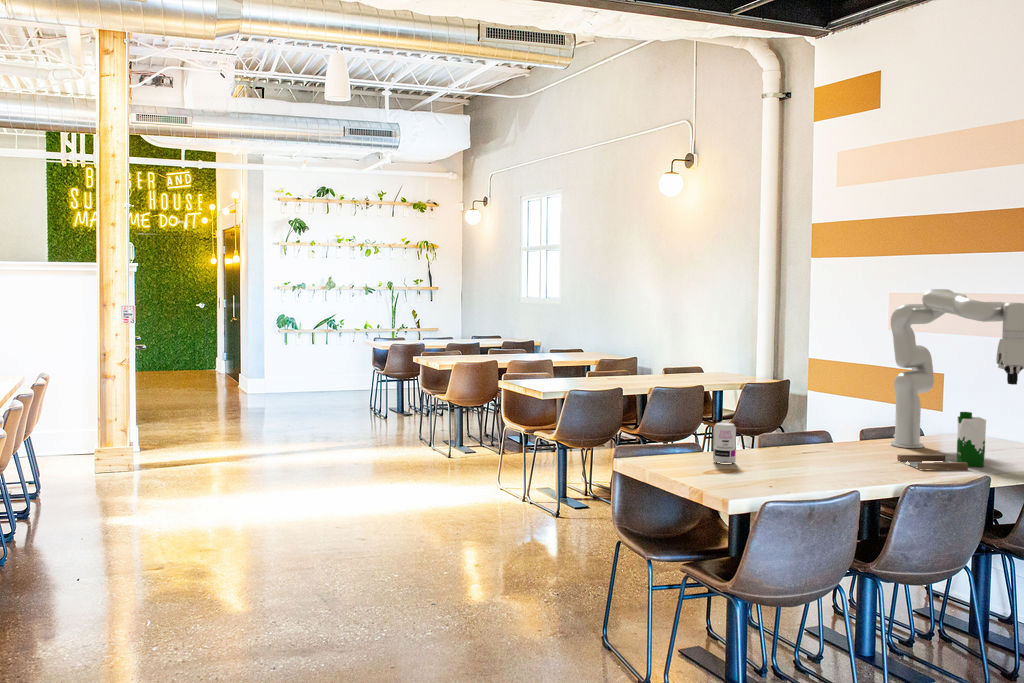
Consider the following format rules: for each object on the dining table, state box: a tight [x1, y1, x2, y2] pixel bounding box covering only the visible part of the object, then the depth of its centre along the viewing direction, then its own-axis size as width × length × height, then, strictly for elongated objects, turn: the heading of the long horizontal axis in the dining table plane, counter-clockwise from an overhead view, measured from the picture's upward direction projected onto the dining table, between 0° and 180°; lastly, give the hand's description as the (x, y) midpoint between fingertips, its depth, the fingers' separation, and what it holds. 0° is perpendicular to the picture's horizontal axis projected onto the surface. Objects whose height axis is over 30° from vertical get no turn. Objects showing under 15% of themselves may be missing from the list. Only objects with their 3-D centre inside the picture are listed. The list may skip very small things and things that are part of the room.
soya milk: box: [956, 411, 987, 468], centre depth 322 cm, size 9×9×20 cm
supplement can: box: [712, 422, 737, 463], centre depth 325 cm, size 8×8×15 cm
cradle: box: [896, 453, 969, 471], centre depth 321 cm, size 17×18×2 cm
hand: (1012, 384), depth 321 cm, fingers closed
